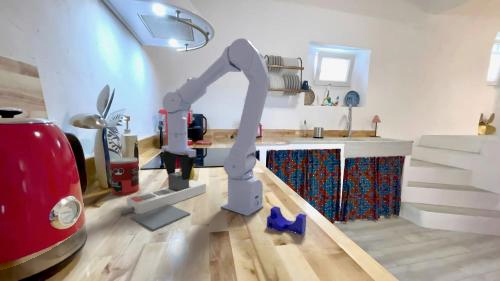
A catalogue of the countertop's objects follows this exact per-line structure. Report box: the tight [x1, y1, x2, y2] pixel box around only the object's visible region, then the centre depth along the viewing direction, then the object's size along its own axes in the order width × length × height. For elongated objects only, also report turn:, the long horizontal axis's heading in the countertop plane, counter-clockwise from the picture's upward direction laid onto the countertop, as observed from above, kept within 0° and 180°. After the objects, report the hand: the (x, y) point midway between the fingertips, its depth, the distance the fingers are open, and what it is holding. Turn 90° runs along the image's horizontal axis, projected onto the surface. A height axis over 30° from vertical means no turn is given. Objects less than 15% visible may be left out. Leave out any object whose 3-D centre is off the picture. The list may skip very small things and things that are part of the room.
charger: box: [167, 170, 189, 192], centre depth 67 cm, size 4×4×6 cm
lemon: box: [178, 166, 196, 181], centre depth 80 cm, size 6×6×8 cm
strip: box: [119, 179, 207, 216], centre depth 64 cm, size 25×7×4 cm, turn 144°
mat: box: [130, 204, 191, 232], centre depth 54 cm, size 10×10×1 cm
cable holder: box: [266, 205, 307, 235], centre depth 48 cm, size 8×4×4 cm, turn 54°
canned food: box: [109, 156, 140, 196], centre depth 71 cm, size 8×8×11 cm
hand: (178, 177), depth 67 cm, fingers open, 7 cm apart
